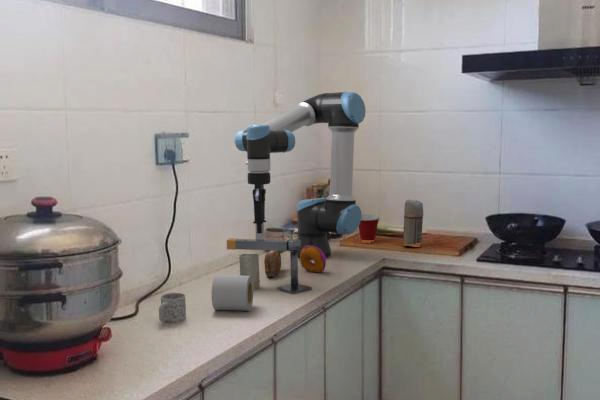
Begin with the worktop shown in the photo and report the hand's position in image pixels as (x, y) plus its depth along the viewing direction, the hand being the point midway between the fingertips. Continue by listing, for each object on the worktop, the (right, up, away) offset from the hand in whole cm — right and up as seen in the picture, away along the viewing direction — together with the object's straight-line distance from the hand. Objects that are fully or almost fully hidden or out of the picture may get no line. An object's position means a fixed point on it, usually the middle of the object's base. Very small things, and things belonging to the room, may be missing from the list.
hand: (260, 242), depth 213 cm
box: (-3, -15, -3) cm, 16 cm away
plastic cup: (+43, -5, +70) cm, 83 cm away
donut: (+18, -12, +16) cm, 27 cm away
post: (+12, -15, -6) cm, 20 cm away
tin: (+4, -13, +14) cm, 20 cm away
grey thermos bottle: (+62, -6, +60) cm, 86 cm away
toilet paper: (-6, -18, -27) cm, 33 cm away
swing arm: (+2, -2, -6) cm, 7 cm away
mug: (-22, -19, -37) cm, 48 cm away
